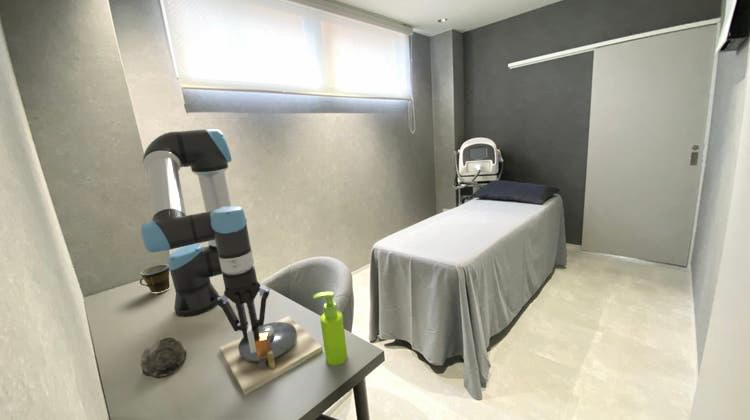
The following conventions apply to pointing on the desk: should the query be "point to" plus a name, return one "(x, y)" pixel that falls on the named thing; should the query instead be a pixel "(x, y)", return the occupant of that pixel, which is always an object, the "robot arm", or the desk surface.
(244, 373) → the post base
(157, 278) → the ceramic cup
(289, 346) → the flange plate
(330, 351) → the soap dispenser
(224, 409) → the desk surface
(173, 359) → the fossil
